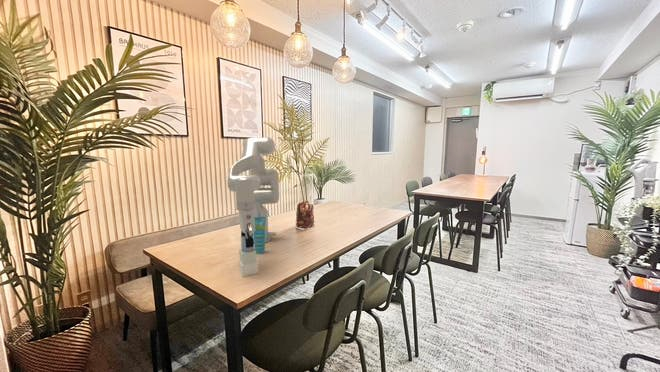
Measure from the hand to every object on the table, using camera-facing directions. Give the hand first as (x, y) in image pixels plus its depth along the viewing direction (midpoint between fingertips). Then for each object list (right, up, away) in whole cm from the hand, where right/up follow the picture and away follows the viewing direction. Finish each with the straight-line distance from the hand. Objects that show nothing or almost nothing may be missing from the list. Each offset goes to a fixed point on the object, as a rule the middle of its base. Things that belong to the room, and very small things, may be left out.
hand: (247, 243), depth 119 cm
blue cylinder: (0, -3, 0) cm, 3 cm away
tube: (-1, -10, +24) cm, 26 cm away
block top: (0, -8, +1) cm, 8 cm away
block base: (0, -13, +2) cm, 13 cm away
